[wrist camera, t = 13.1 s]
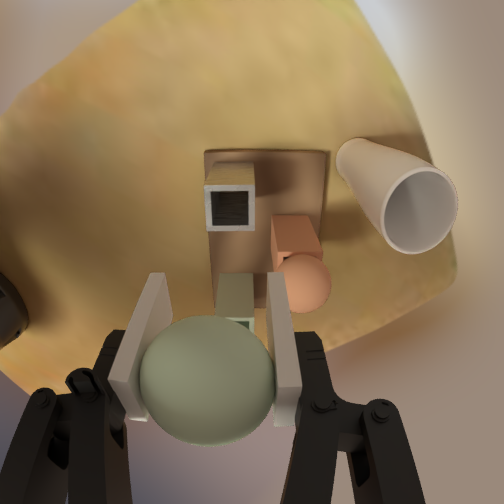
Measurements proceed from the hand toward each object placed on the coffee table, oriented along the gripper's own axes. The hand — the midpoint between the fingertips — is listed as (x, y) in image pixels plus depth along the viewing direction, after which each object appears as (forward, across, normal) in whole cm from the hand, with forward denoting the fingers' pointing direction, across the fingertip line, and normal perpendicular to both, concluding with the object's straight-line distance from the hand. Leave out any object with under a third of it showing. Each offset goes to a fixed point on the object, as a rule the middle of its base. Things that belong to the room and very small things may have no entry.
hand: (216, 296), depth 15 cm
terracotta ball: (+12, +6, -6) cm, 15 cm away
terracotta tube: (+19, +6, -6) cm, 21 cm away
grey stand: (+19, 0, 0) cm, 19 cm away
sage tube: (+19, 0, -14) cm, 24 cm away
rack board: (+21, +3, -7) cm, 22 cm away
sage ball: (-3, 0, 0) cm, 3 cm away
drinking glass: (+21, +14, +2) cm, 25 cm away
